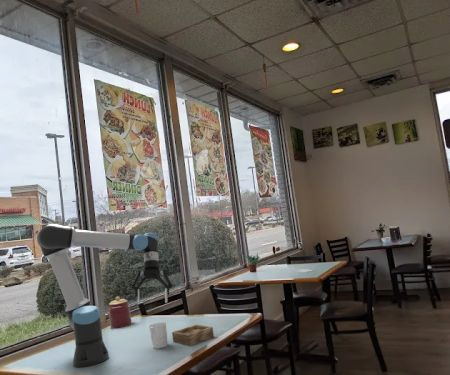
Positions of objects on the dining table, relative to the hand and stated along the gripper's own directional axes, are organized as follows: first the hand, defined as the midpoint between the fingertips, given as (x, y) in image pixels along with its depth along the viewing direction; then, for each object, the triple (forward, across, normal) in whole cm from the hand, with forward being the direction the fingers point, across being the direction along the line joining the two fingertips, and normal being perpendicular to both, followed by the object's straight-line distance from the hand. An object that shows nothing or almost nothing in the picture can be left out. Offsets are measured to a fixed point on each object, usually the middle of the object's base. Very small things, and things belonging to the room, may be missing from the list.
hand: (152, 302), depth 200 cm
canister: (-5, -13, +63) cm, 65 cm away
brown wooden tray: (+19, +18, -3) cm, 27 cm away
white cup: (+21, +3, -1) cm, 21 cm away
